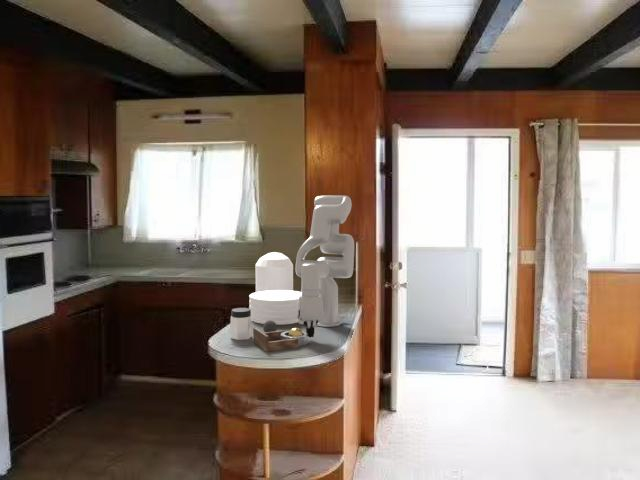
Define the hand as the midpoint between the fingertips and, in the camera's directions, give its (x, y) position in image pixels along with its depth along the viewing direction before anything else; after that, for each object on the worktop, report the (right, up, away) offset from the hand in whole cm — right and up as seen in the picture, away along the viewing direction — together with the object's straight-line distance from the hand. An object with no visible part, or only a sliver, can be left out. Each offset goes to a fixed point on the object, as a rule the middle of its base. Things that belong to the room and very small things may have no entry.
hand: (310, 336), depth 232 cm
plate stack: (-16, +2, +42) cm, 45 cm away
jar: (-29, -1, +4) cm, 30 cm away
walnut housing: (-14, -2, -7) cm, 16 cm away
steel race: (-6, -2, -3) cm, 7 cm away
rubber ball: (-18, +2, +10) cm, 20 cm away
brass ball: (-6, +1, -3) cm, 7 cm away
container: (-22, +5, +81) cm, 84 cm away
